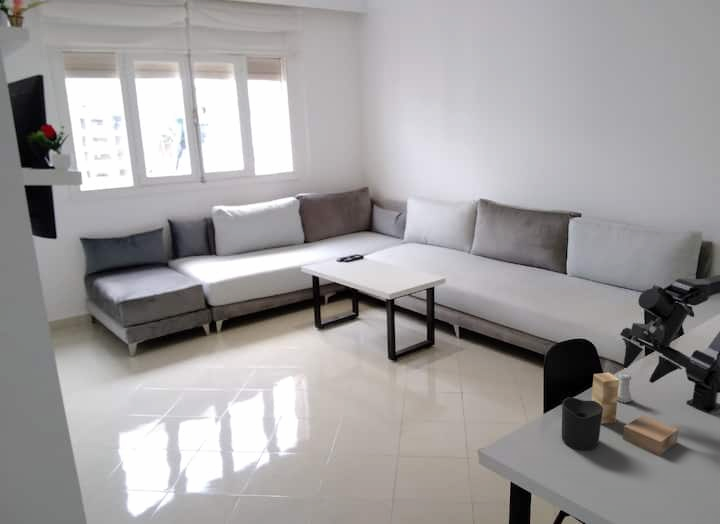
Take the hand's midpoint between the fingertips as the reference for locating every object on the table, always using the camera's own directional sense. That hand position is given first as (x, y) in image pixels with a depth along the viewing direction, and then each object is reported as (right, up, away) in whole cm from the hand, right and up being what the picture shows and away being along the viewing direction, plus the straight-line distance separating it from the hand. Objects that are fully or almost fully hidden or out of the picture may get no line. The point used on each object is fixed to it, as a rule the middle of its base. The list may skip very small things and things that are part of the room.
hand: (637, 374), depth 144 cm
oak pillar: (-7, -13, +4) cm, 15 cm away
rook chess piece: (+3, -10, +14) cm, 18 cm away
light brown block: (0, -16, -7) cm, 17 cm away
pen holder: (-18, -16, -6) cm, 25 cm away
